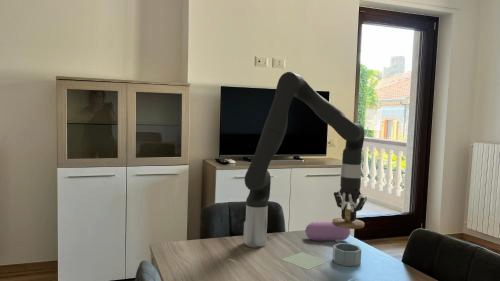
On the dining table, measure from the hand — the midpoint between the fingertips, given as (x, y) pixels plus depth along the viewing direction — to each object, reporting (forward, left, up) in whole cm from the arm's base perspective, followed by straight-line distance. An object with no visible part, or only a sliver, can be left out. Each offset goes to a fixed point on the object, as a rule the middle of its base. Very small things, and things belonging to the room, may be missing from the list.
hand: (348, 219), depth 157 cm
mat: (-11, -12, -17) cm, 23 cm away
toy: (-21, +17, -17) cm, 32 cm away
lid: (0, 0, -2) cm, 2 cm away
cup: (0, 0, -17) cm, 17 cm away
